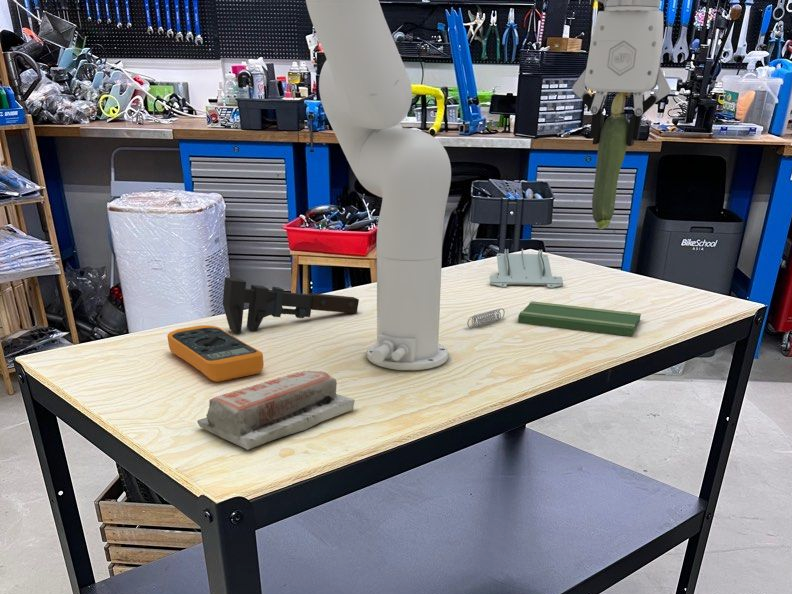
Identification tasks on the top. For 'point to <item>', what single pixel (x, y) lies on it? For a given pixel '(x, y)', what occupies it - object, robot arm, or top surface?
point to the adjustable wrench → (276, 303)
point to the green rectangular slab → (580, 318)
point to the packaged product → (275, 408)
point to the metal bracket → (524, 270)
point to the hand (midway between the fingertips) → (613, 143)
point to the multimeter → (215, 352)
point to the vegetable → (609, 161)
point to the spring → (482, 319)
